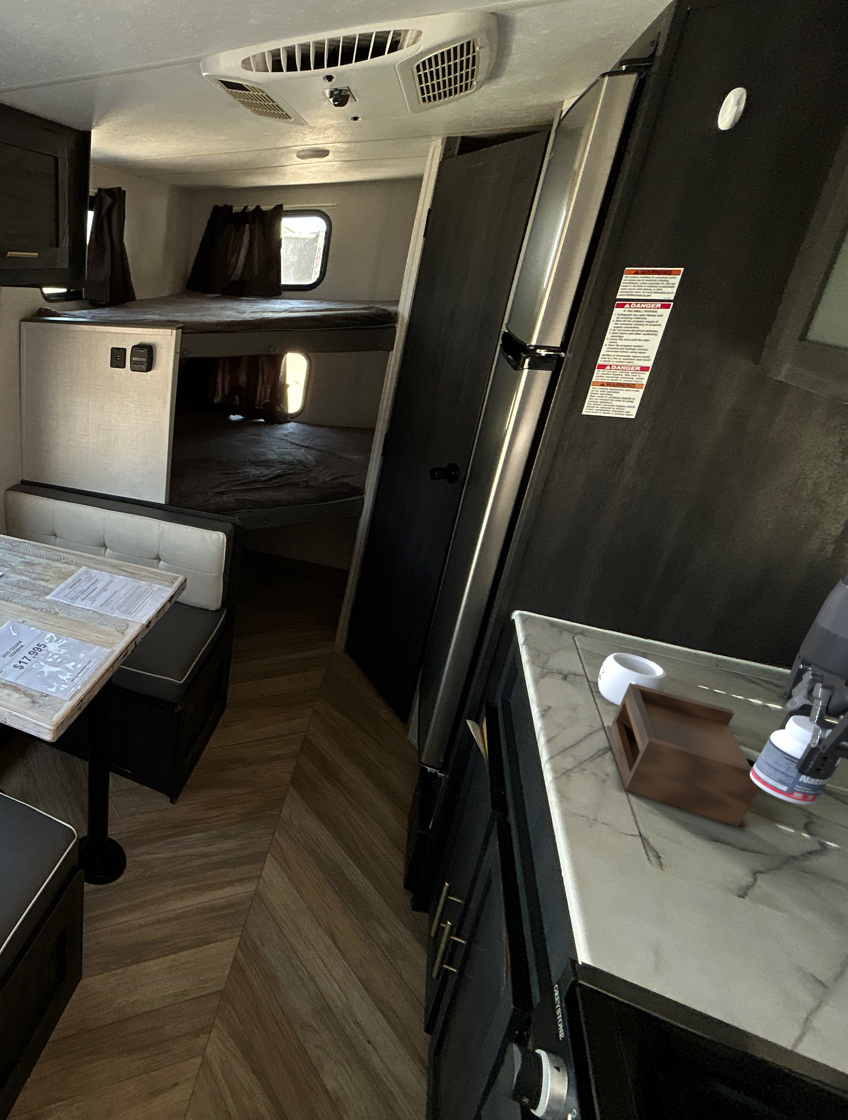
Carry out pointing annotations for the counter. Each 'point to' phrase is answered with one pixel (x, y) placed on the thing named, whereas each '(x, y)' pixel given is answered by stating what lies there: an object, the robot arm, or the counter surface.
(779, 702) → the counter surface
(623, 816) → the counter surface
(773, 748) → the pill bottle
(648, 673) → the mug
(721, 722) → the box
